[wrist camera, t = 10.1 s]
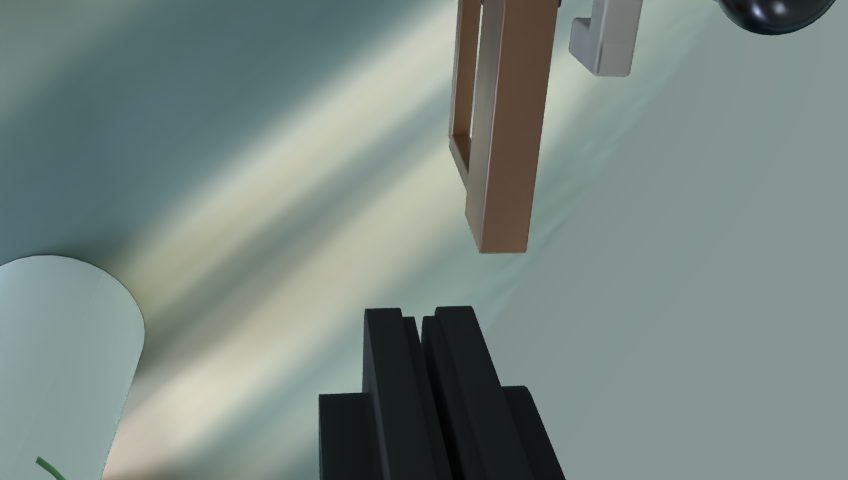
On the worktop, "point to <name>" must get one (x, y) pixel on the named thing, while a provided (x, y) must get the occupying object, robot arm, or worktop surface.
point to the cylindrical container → (63, 366)
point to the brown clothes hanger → (518, 101)
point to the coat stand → (771, 14)
